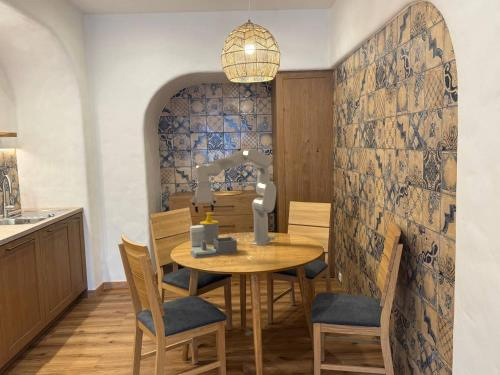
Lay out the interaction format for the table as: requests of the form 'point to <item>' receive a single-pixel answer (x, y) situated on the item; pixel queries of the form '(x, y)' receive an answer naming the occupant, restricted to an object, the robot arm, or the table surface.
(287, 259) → the table surface
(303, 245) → the table surface
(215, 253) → the mat
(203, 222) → the soap bottle
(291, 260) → the table surface
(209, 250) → the lid
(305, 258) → the table surface
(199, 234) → the supplement tub
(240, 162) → the robot arm
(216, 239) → the parts tub
